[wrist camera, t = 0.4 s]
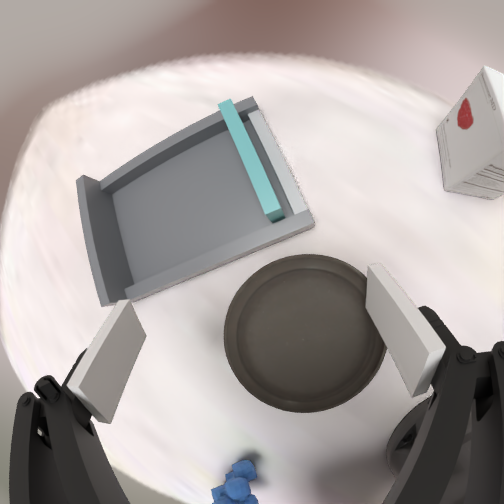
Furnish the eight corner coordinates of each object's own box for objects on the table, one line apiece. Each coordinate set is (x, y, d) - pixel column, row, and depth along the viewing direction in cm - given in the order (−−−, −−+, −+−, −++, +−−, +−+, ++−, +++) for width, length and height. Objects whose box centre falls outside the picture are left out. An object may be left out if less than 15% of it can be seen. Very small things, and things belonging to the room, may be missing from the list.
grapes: (251, 500, 28) (231, 552, 17) (211, 484, 30) (182, 533, 18) (285, 459, 28) (271, 521, 16) (239, 441, 30) (209, 498, 18)
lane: (257, 109, 32) (246, 79, 25) (314, 227, 30) (315, 215, 23) (105, 191, 36) (76, 180, 30) (133, 302, 34) (101, 307, 27)
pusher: (243, 123, 31) (230, 98, 26) (286, 219, 29) (280, 207, 24) (232, 128, 32) (217, 104, 26) (273, 225, 30) (265, 214, 24)
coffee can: (291, 368, 29) (275, 435, 15) (244, 292, 31) (193, 309, 17) (370, 321, 28) (414, 360, 14) (323, 243, 29) (334, 220, 16)
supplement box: (434, 127, 27) (481, 60, 12) (483, 141, 25) (538, 91, 10) (442, 191, 27) (511, 144, 12) (492, 202, 25) (563, 170, 10)
